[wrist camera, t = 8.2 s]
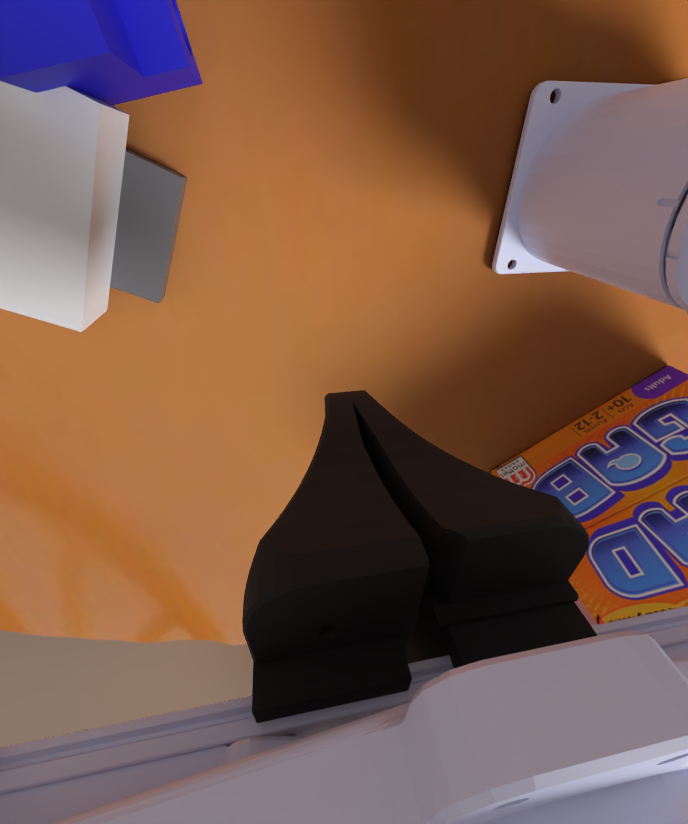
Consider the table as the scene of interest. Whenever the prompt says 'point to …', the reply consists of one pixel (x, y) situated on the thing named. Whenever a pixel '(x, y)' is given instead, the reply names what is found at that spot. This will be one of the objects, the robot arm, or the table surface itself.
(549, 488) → the game box
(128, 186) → the shaft rig
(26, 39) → the blue piece
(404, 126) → the table surface
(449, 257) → the table surface
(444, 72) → the table surface
